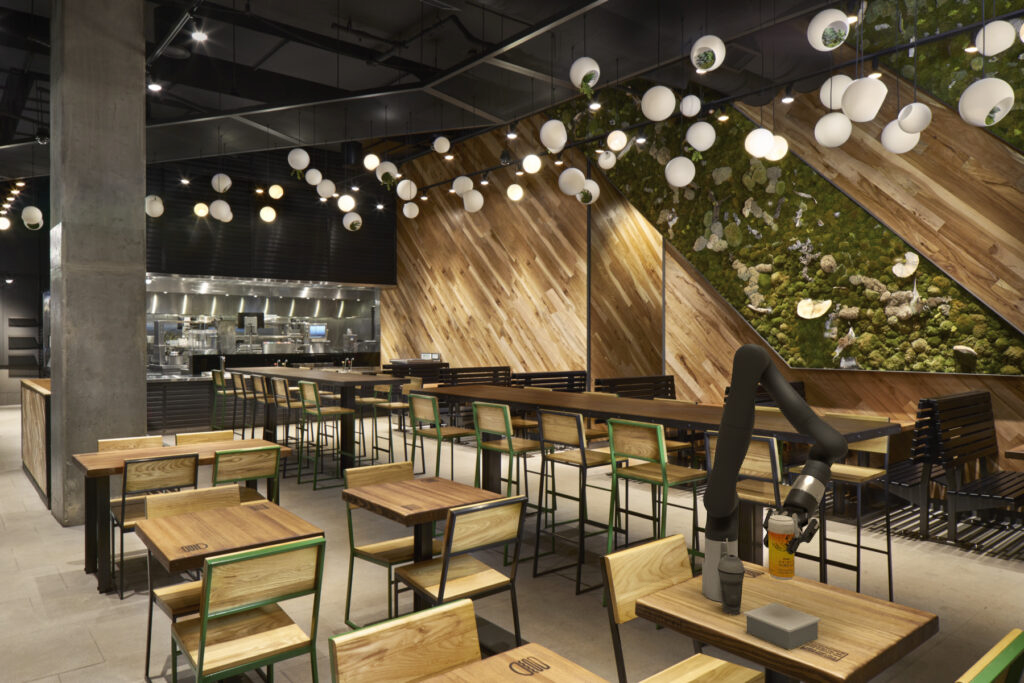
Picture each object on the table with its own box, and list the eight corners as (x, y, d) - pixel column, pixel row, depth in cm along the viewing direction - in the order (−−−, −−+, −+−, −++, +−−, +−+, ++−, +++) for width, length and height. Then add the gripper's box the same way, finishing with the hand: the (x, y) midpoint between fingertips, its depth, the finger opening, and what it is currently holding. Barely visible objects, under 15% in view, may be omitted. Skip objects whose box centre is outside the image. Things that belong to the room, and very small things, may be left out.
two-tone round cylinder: (781, 582, 162) (781, 521, 163) (763, 574, 168) (763, 516, 168) (800, 579, 165) (799, 519, 165) (781, 571, 170) (780, 513, 171)
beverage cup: (738, 619, 176) (738, 544, 177) (712, 612, 181) (712, 539, 182) (749, 611, 182) (749, 539, 182) (724, 604, 186) (724, 534, 187)
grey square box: (743, 632, 168) (743, 612, 168) (774, 621, 175) (774, 602, 175) (789, 651, 157) (789, 630, 157) (820, 638, 164) (820, 618, 164)
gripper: (774, 483, 177) (746, 533, 170) (824, 492, 165) (797, 547, 158) (786, 500, 180) (759, 551, 173) (836, 511, 168) (810, 565, 161)
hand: (777, 549), depth 166 cm, fingers closed on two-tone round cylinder, 6 cm apart
